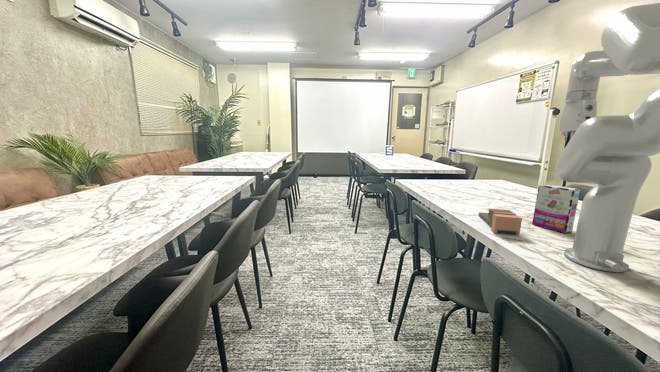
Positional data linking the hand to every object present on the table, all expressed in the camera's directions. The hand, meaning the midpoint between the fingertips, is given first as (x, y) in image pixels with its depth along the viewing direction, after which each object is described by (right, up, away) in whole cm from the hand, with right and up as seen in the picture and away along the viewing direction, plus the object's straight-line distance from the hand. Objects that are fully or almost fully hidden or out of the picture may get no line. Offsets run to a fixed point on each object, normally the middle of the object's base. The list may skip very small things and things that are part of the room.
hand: (570, 151), depth 90 cm
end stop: (-21, -29, +3) cm, 36 cm away
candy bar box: (+1, -29, +9) cm, 30 cm away
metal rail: (-19, -27, +12) cm, 35 cm away
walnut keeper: (-20, -26, +7) cm, 34 cm away
